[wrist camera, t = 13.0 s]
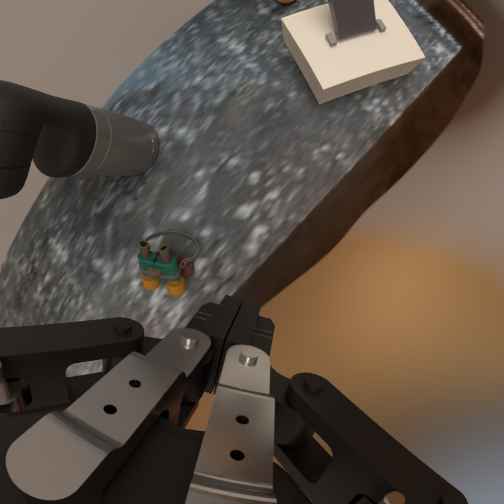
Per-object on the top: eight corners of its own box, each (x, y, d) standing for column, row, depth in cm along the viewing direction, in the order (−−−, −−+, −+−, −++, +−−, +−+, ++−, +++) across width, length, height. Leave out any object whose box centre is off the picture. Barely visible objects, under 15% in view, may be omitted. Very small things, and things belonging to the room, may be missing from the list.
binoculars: (155, 246, 53) (131, 291, 46) (146, 204, 46) (116, 250, 39) (207, 255, 52) (187, 304, 45) (203, 212, 45) (179, 263, 38)
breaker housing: (407, 74, 38) (428, 54, 30) (319, 104, 42) (324, 86, 33) (371, 14, 37) (382, -13, 28) (284, 41, 40) (280, 14, 31)
